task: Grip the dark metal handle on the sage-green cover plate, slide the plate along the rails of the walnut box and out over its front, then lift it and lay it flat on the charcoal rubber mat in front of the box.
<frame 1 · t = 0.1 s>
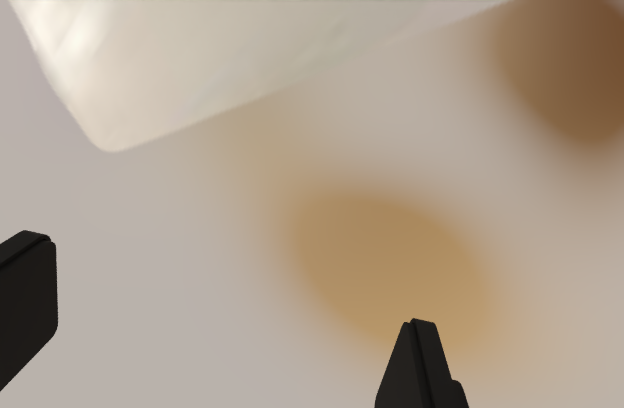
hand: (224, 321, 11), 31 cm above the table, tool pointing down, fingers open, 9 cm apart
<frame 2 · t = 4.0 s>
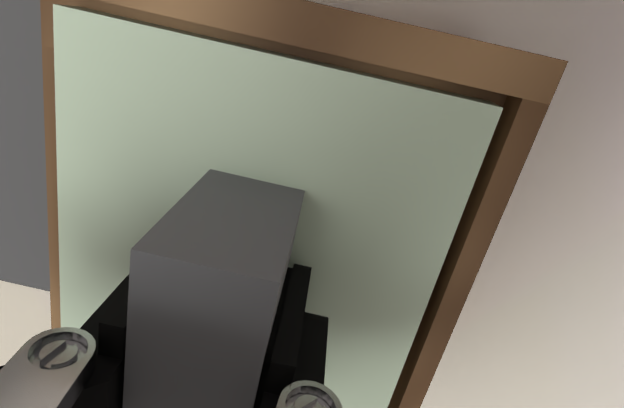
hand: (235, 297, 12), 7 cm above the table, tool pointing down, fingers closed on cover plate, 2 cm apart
cover plate: (246, 270, 14), point 6 cm above the table, touching gripper
walnut box: (276, 200, 19), on the table
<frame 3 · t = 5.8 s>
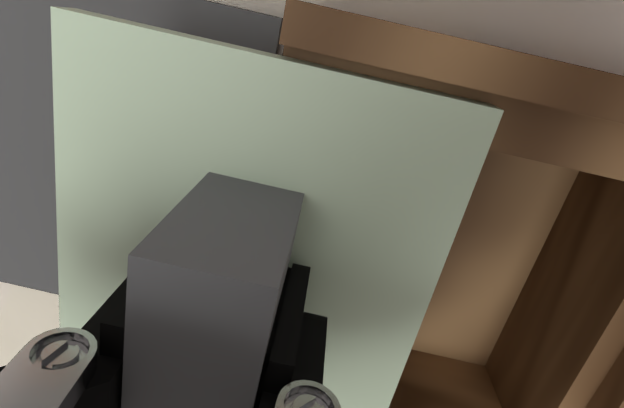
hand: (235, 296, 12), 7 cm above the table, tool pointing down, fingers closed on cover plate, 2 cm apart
cover plate: (245, 272, 14), point 6 cm above the table, touching gripper
rubber mat: (111, 164, 19), on the table
walnut box: (415, 233, 19), on the table
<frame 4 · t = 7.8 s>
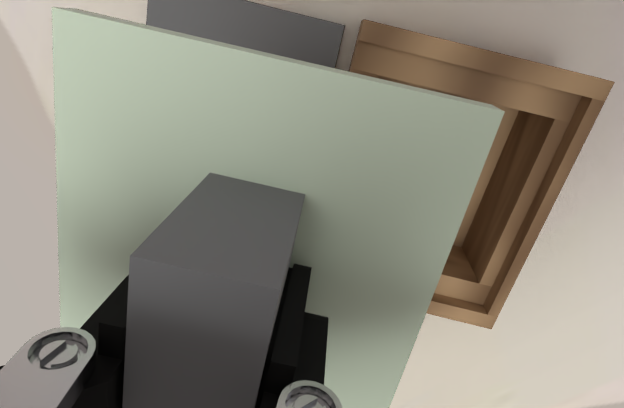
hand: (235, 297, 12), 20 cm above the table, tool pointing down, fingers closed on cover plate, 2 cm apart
cover plate: (246, 273, 14), point 19 cm above the table, touching gripper
rubber mat: (231, 113, 31), on the table
walnut box: (418, 159, 31), on the table
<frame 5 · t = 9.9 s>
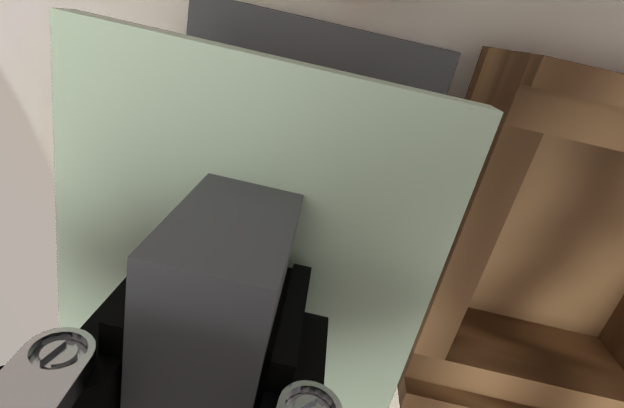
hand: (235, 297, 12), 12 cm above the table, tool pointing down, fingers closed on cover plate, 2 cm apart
cover plate: (245, 273, 14), point 11 cm above the table, touching gripper
rubber mat: (295, 167, 23), on the table
walnut box: (545, 226, 23), on the table
when the fingers open (3 cm above the table, at t = 11.7 s): cover plate drops 2 cm, resting on rubber mat.
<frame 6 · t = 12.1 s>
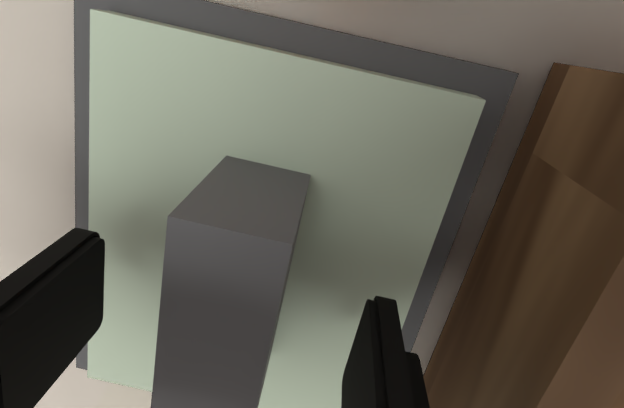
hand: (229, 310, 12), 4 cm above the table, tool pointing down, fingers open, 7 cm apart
cover plate: (256, 249, 15), resting on rubber mat
rubber mat: (257, 243, 15), on the table
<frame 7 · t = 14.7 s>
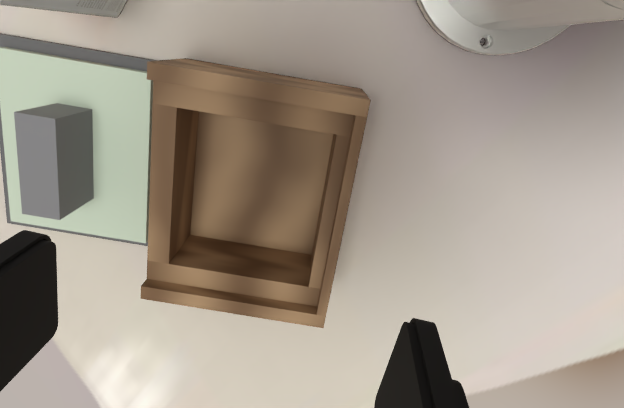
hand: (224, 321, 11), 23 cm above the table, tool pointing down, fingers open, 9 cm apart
cover plate: (83, 149, 33), resting on rubber mat
rubber mat: (85, 147, 34), on the table
walnut box: (261, 177, 34), on the table
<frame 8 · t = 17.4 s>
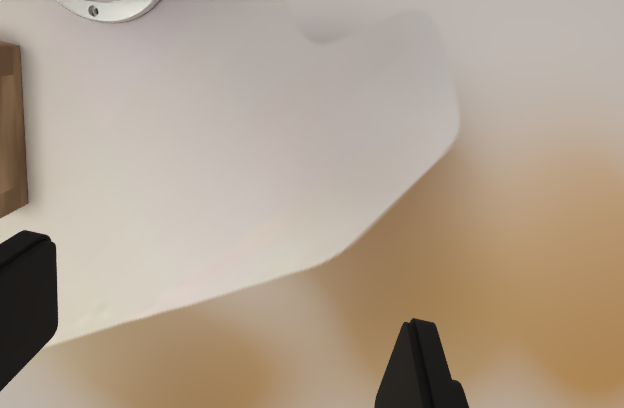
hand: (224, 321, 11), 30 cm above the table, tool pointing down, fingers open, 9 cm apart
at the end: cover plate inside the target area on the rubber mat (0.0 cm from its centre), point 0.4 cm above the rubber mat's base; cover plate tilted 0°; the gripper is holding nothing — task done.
